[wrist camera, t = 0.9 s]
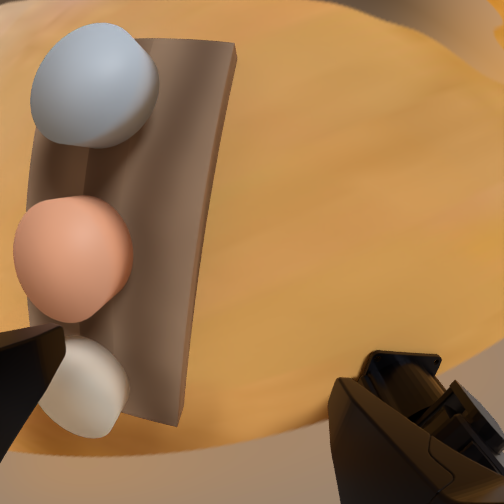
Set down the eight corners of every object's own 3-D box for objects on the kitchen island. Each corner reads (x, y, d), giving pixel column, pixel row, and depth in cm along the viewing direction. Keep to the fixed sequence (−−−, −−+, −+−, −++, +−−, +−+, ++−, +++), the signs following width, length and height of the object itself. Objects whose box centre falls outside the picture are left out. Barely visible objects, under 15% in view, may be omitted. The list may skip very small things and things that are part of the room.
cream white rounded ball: (144, 329, 20) (109, 377, 14) (142, 397, 21) (117, 449, 15) (68, 308, 20) (21, 345, 14) (74, 375, 21) (38, 418, 15)
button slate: (183, 61, 16) (154, 19, 10) (162, 156, 17) (122, 148, 12) (97, 61, 16) (49, 30, 10) (77, 148, 17) (20, 142, 12)
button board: (237, 58, 17) (234, 43, 15) (183, 406, 23) (177, 427, 20) (74, 55, 17) (56, 45, 14) (53, 367, 22) (39, 381, 20)
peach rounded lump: (156, 199, 18) (114, 208, 12) (146, 294, 19) (108, 336, 14) (72, 187, 18) (14, 193, 12) (67, 275, 19) (16, 305, 13)
